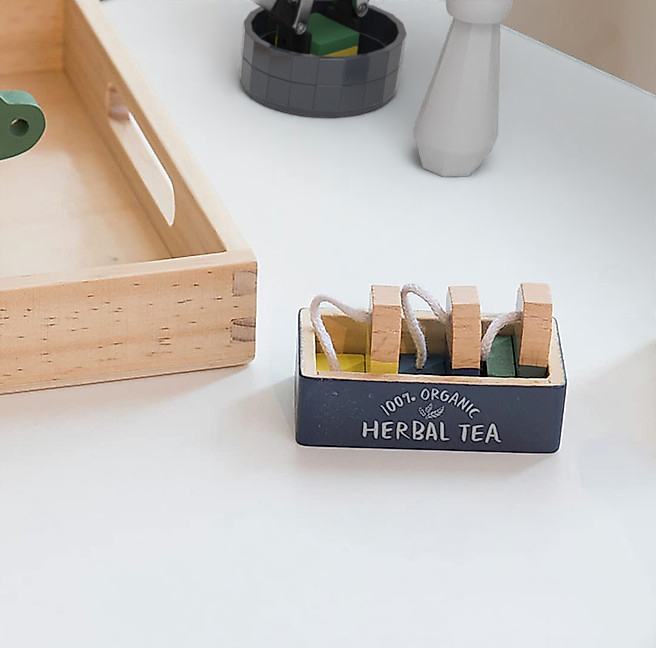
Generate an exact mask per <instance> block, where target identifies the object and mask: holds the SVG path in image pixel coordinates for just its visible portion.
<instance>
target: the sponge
mask: <svg viewBox="0 0 656 648" xmlns="http://www.w3.org/2000/svg"><path fill="white" fill-rule="evenodd" d="M306 31H308V32H310V33H312V40H311V48H310V55H316V56H351V55H357V49H358V42H359V34H360V33H358V32H356V31H354V30H352V29H350V28H348V27H346V26H344V25H342V24H339V23H337V22H335V21H333V20H331V19H329V18H327V17H325V16H323V15H321V14H318V13H313V14H310V17H309V21H308V25H307V29H306ZM277 36H278V25H277V30H276V40H275V47H276V46H277Z"/></svg>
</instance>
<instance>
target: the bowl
mask: <svg viewBox="0 0 656 648" xmlns="http://www.w3.org/2000/svg"><path fill="white" fill-rule="evenodd" d="M296 2H297V0H292V3H291V6H292V7H293V8H294V9H295V7H296ZM328 7H334V4H333V0H314V1H313V5H312V9H311V13H310V14H313V13H318V14H321V15H323V16H325V14H326V11H327V8H328ZM359 20H360V23H359V30H358V33H360V34H359V42H358V49H357V55H351V56H316V55H309V54H302V53H295V52H292V51H288V50H285V49H281V48H278V47H275V40H276V30H277V24H275V23H273V21H272V17H271V16H270V15H269V14H268V13H267V12H266V10H265V9H264V8H262V7H261V6H258V7H257V8H255V9H253V10H250V12H249V13H248V14H247V16H246V17H245V18H244V20H243V25H242V34H241V35H242V36H241V48H240V60H239V79H240V82H241V84H242V86H243V88H244V90H245V92H246V93H247V94H248V95H249V97H250V98H252V99H253V100H254V101H256V102H258V103H260V104H262V105H264V106H266V107H268V108H270V109H273V110H276V111H280V112H283V113H287V114H292V115H296V116H303V117H312V118H343V117H351V116H358V115H362V114H365V113H369V112H372V111H375V110H377V109H379V108H381V107H383V106H384V105H385V104H387V103H388V102H389V101H390V100H391V98H392V96H394V95H395V94H396V92H397V89H398V88H399V85H400V82H401V75H402V68H403V60H404V56H405V55H404V54H405V48H406V41H407V35H408V33H407V30H406V27H405V24H404V22H403V21H401V20H400V19H399V18H397V17H396V16H395V15H394V14H393V13H391V12H390V11H389V12H388V11H387V10H385V9H382V8H380V7H378V6H375V5H372V4H369V7H368V11H367V13H366V15H365V16H363V17H361V18H359Z"/></svg>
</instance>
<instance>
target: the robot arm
mask: <svg viewBox="0 0 656 648" xmlns="http://www.w3.org/2000/svg"><path fill="white" fill-rule="evenodd" d="M250 1H251V2H253V3H254V4H256V5H258V7H260V6H261V7H262V8H264V9H265V10H266V12H267V13H268V14H269V15H270V16H271V17H272V21H273V23H275V24H277V25H278V36H277V46H276V47H278V48H281V49H285V50H288V51H292V52H295V53H302V54H309V55H310V48H311V40H312V33H310V32H308V31H306V29H307V25H308V21H309V17H310V13H311V9H312V5H313V1H314V0H297V2H296V7H295V9H294V8H293V7H292V6H291V3H292V0H250ZM369 1H370V0H333V4H334V7H328V8H327V11H326V14H325V17H327V18H329V19H331V20H333V21H335V22H337V23H339V24H342V25H344V26H346V27H348V28H350V29H352V30H354V31H356V32H358V30H359V23H360V20H359V18H361V17H363V16H365V15H366V13H367V11H368V7H369V5H370V4H369Z"/></svg>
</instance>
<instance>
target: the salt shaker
mask: <svg viewBox="0 0 656 648" xmlns="http://www.w3.org/2000/svg"><path fill="white" fill-rule="evenodd" d="M514 1H515V0H445V8H446V12H447V13H448V16H450V17H452V20H451V23H450V26H449V30H448V32H447V34H446V38H445V40H444V43H443V46H442V49H441V52H440V54H439V57H438V59H437V63H436V66H435V68H434V71H433V75H432V77H431V80H430V83H429V85H428V88H427V90H426V94H425V95H424V98H423V101H422V104H421V105H420V106H421V107H420V109H419V112H418V115H417V117H416V120H415V122H414V125H413V127H412V137H413V139H414V143H415V145H416V147H417V150H418V154H419V158H420V162H421V167H422V168H423V169H425V170H427V171H429V172H432V173H434V174H436V175H437V176H441V177H445V178H446V177H470V176H471V175H472V174H473V173H474V172H475V171H476V170H478V168H480V166H481V165H482V163H483V162H484V160H485V159H486V157H488V155H489V153H490V152H491V151H492V150H493V148H494V146H495V145H496V144H495V143H496V141H497V139H498V136H499V111H500V110H499V108H500V106H499V105H500V104H499V103H500V62H501V61H500V60H501V58H500V57H501V23H502V22H503V21H505V20H507V19H508V17H509V15H510V13H511V11H512V9H513V5H514Z"/></svg>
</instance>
